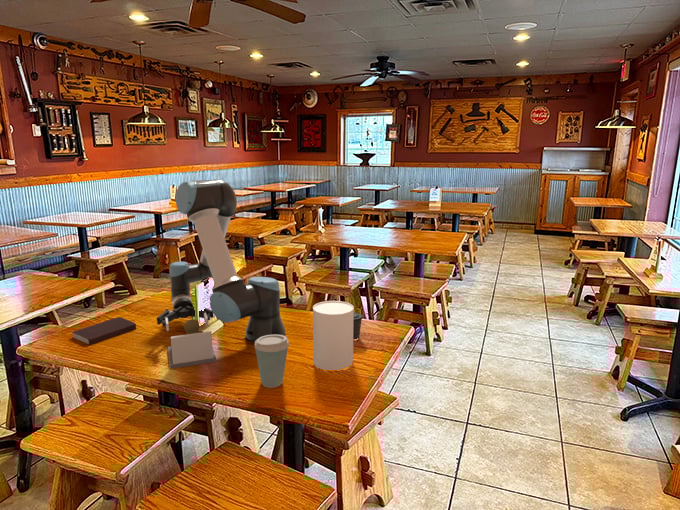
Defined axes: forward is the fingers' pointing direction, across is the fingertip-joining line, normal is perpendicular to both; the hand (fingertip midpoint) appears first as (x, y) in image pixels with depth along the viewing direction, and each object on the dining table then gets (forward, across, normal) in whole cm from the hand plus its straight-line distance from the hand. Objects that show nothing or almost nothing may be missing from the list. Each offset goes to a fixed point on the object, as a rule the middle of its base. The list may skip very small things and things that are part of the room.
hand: (187, 324), depth 166 cm
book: (-28, +30, -10) cm, 42 cm away
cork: (+4, -2, -8) cm, 9 cm away
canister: (+30, -45, -10) cm, 55 cm away
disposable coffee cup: (+36, -22, -10) cm, 43 cm away
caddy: (+6, 0, -9) cm, 11 cm away
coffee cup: (+14, -59, -10) cm, 61 cm away
